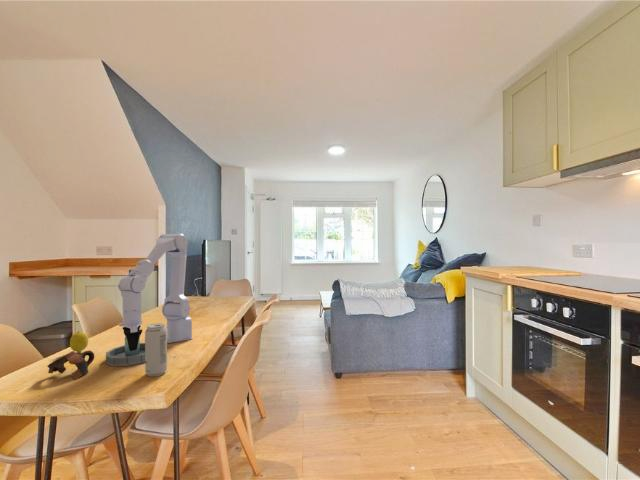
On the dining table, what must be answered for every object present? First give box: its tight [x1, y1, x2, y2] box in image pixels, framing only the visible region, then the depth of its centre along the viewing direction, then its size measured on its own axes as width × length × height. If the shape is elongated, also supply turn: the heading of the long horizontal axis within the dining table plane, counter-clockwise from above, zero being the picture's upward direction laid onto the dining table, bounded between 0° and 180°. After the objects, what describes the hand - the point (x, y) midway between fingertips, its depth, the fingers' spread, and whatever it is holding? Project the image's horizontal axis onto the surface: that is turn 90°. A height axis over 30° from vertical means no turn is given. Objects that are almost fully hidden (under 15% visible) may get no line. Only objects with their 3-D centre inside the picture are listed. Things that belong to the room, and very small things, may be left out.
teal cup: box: [124, 336, 141, 356], centre depth 116 cm, size 5×5×6 cm
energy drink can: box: [144, 322, 168, 378], centre depth 102 cm, size 6×6×15 cm
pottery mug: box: [46, 350, 95, 380], centre depth 103 cm, size 12×10×8 cm
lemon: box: [69, 330, 89, 354], centre depth 122 cm, size 6×6×8 cm
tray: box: [105, 342, 145, 368], centre depth 116 cm, size 16×16×3 cm
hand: (132, 348), depth 116 cm, fingers closed on teal cup, 5 cm apart
